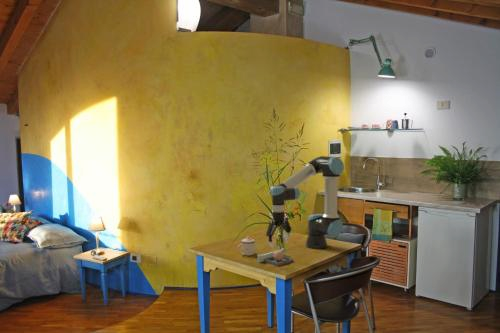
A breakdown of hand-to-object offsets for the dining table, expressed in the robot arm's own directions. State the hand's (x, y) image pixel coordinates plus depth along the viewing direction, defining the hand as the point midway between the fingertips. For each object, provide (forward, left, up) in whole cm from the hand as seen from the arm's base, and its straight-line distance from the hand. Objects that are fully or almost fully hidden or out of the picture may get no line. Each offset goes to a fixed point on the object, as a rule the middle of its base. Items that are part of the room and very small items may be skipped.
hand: (279, 244), depth 256 cm
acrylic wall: (-1, -8, -11) cm, 13 cm away
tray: (0, 0, -11) cm, 11 cm away
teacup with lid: (+4, -27, -11) cm, 29 cm away
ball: (0, 0, -7) cm, 7 cm away
